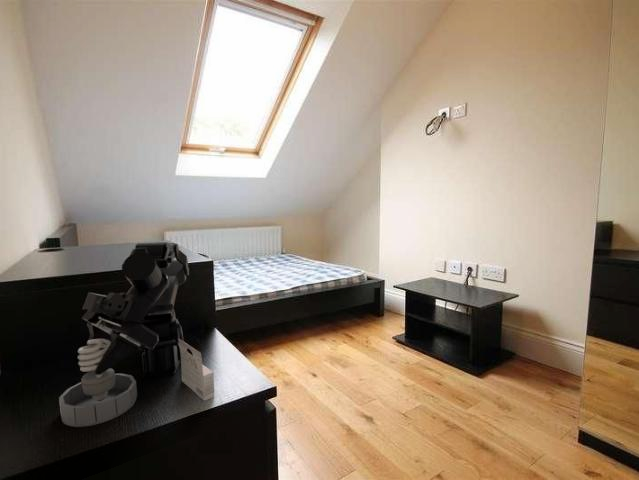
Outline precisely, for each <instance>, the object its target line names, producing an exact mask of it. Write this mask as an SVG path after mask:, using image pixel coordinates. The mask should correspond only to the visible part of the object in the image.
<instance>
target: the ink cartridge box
mask: <svg viewBox="0 0 639 480" xmlns="http://www.w3.org/2000/svg"><path fill="white" fill-rule="evenodd" d="M178 341H179V353H180V365H181V367H180V368H181V382H182V383H184V385H186V386H187V387H188V388H189V389H190V390H192V391H193V392H194V393H195V394H196V395H197V396H198V397H199V398H200V399H201V400H203V401H204V402H205V401H208V400H211V399H213V398H214V397H215V382H214V381H215V380H214V379H215V378H214V372H213V371H212V369H209V368H208V367H206V366H205V365H204V364H203V360H202V359H203V358H202V353H201V352H200V351H199V350H197V349H195V348H194V347H193V346H191V345H190V344H188V343H187V342H185V341H184V340H183V341H182V340H180V339H178ZM188 349H189V351H190V352H191V353H192V354H191V353H190V352H189V351H188Z"/></svg>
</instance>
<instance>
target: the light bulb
mask: <svg viewBox="0 0 639 480" xmlns="http://www.w3.org/2000/svg"><path fill="white" fill-rule="evenodd" d="M103 343H106V344H107V345H105V344H103ZM87 344H94V345H88V346H87ZM110 344H111V342H110V341H109V340H106V339H93V340H89V339H88V340H87V342H86V345H85V346H81V347H79V348H78V350H77V353H78V354H79V355H77V359H78V360H79V361H78V363H77V364H78V365H79V369H80V371H81V372H87V373H84V374H83V376H82V377H81V379H80V380H81V382H82V388H83V392H84V394H86V395H90V396H92V398H93V400H95V401H102V400H104V399H105V398H106V397H107V396H108V391H109V390H110V389H112V388H113V387H114V385H115V374H116V373H115V370H114V369H113V368H112V367H111V368H109V369H108V370H107V371H105V372H104V373H102V374H101V375H98V374H96V373H95V370H96V368H97V366H98V364H99V362H100V361H101V359H102V357H103V356H104V354H105V352H106V351H107V349H108V347H109V346H110ZM100 348H105V349H103V350H98V349H100Z"/></svg>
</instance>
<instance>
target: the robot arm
mask: <svg viewBox="0 0 639 480" xmlns="http://www.w3.org/2000/svg"><path fill="white" fill-rule="evenodd" d="M178 244H179V243H175V242H169V243H168V242H167V241H166V242H165V241H163V242H160V241H159V242H143V243H141V242H140V243H139V242H138V243H137V244H135V247H134V248H133V249H132V250H131V252H130V254H129V256H128V257H126V259H124V261H123V263H122V265H121V272H122V274H123V275H124V277H125V278H126V280H127V281H128V282H129V283H130V285H131V287H130V288H129V289H128V291H127V292H123V291H122V292H120V293H115V292H109V293H108V294H107V295H106V294H99V293H94V292H89V291H88V293H87V296H86V298H85V301H84V304H83V306H82V310H85V311H86V310H87V311H86V312H85V313H84V314H83V315H82V317H81V319H82V320H84V321H86V322H87V323H86V327H88V330H89V331H88V332H89V338H88V340H93V339H106V340H109V341H110V342H111V344H110V346H109V347H108V349H107V351H106V352H105V354H103V355H104V356H103V357H102V359H101V361H100V362H99V363H97V365H98V366H97V368H96V370H95V373H96V374H98V375H101V374H102V373H104V372H105V371H107V370H108V369H109V368H111V369H112V367H114V366H115V365H117V364H118V363H120V362H121V361H123V360H125V359H126V358H128V357H129V356H132V355H134V354H135V353H136V352H138V351H142V350H143V351H144V352H143V353H142V354H141V358H142V359H141V361H142V370H143V371H142V372H143V373H144V374H143V378H144V379H145V378H155V377H156V378H157V377H163V376H173V375H175V374H176V372H177V371H178V367H179V365H180V364H181V360H178V346H179V341H178V339H180V340H182V341H183V342H184V335H183V333H184V332H183V329H182V325H181V324H180V322H179V320H178V318H176V312H175V309H174V306H175V302H176V297H177V292H178V289H179V286H181V285H183V284H184V283H186V281H187V277H186V275H187V276H189V275H190V268H189V267H190V266H189V267H188V265H189V260H188V256H187V255H186V254H185V253H184V252H182V251H181V250H180V247H179V245H178ZM117 332H118V333H120V334H118V333H117ZM103 344H105V345H107V344H106V343H103ZM88 345H94V344H87V343H86V346H88ZM103 349H105V348H100V349H98V350H103Z"/></svg>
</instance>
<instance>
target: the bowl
mask: <svg viewBox="0 0 639 480" xmlns="http://www.w3.org/2000/svg"><path fill="white" fill-rule="evenodd" d="M137 389H138V388H137V380H136V379H135V378H134V376H133V375H131V374H125V373H120V372H119V373H115V385H114V387H113V388H112V389H110V390H109V391H108V396H107V397H106V398H105V399H104V400H102V401H95V400H93V398H92V396H90V395H86V394H84V392H83V388H82V381H81V382H80V381H79V382H78V383H76V384H75V385H73V386H70V387H69V388H66V390H65V391H64V392H63V393H62V394H61V395H60V396H59V397H58V402H59V409H60V410H59V411H60V417H61V422H62V423H63V424H64V425H66V426H69V427H72V428H85V427H92V426H96V425H100V424H103V423H105V422H108V421H111V420H113V419H116V418H118V417H120V416H122V415H124V414H125V413H126V412H127V411H129V410H131V408H132V407H133V406H134V405H135V403H136V401H137V397H138V390H137Z"/></svg>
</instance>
